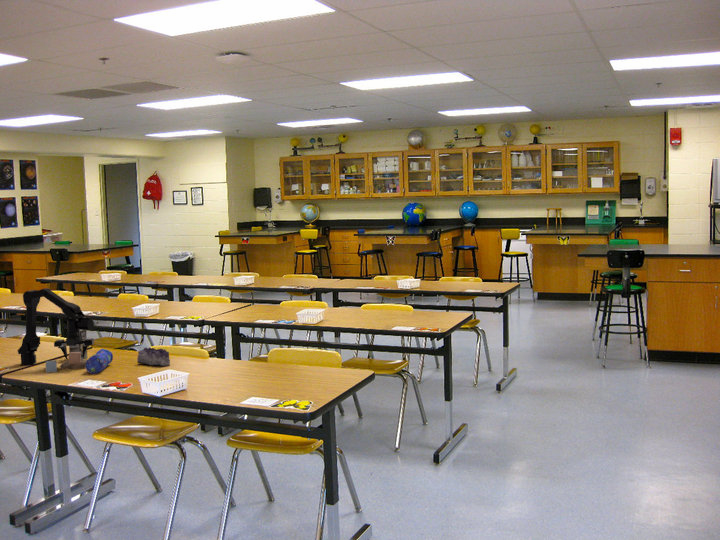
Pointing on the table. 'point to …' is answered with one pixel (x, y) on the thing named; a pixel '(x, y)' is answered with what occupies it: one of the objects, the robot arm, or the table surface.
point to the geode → (154, 357)
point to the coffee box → (79, 345)
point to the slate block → (51, 366)
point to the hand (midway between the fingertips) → (74, 358)
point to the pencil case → (99, 361)
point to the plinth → (73, 365)
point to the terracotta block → (74, 357)
